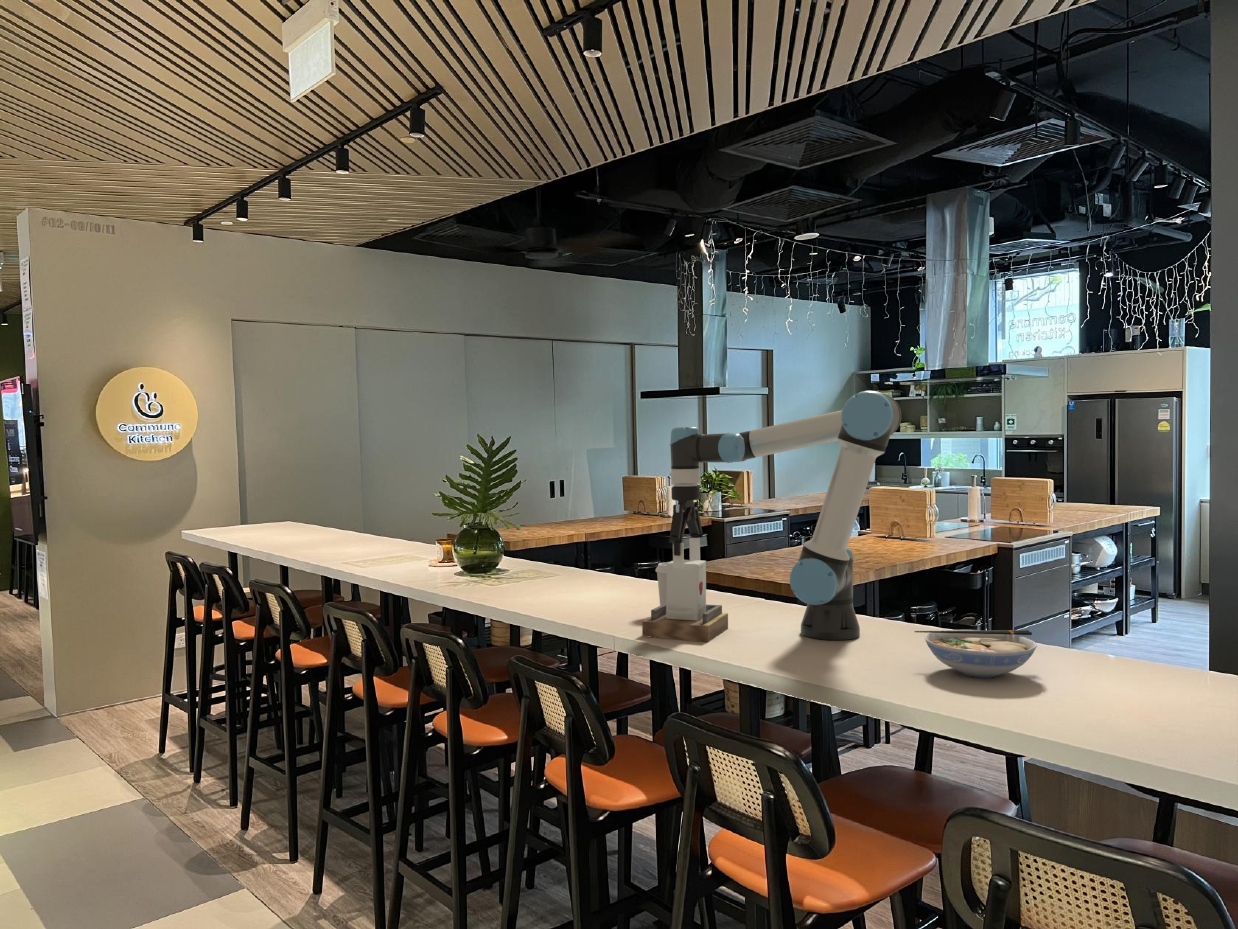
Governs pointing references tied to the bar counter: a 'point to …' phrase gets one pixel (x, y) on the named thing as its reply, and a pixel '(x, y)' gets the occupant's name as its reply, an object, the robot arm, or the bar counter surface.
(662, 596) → the coffee cup
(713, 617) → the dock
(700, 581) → the supplement box
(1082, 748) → the bar counter surface
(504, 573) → the bar counter surface
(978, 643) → the ramen bowl
